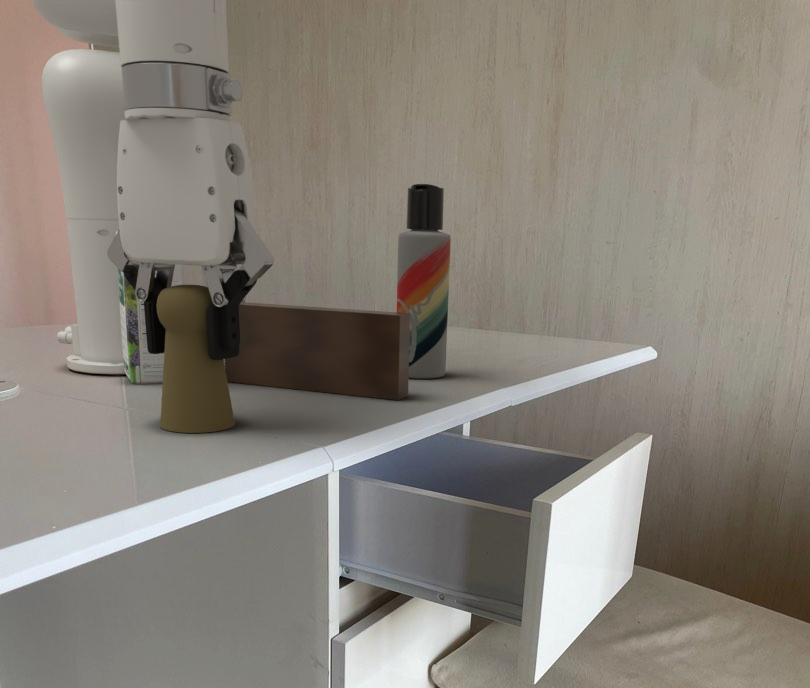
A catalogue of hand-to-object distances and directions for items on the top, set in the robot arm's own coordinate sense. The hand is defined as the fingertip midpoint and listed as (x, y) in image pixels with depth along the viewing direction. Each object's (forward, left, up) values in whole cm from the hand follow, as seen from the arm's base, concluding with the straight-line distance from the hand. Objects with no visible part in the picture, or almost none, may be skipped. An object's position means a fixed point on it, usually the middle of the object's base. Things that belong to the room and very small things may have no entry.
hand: (193, 352), depth 67 cm
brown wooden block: (0, +19, -6) cm, 20 cm away
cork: (0, 0, -6) cm, 6 cm away
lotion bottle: (+6, +33, -6) cm, 34 cm away
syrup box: (-18, +16, -6) cm, 25 cm away
